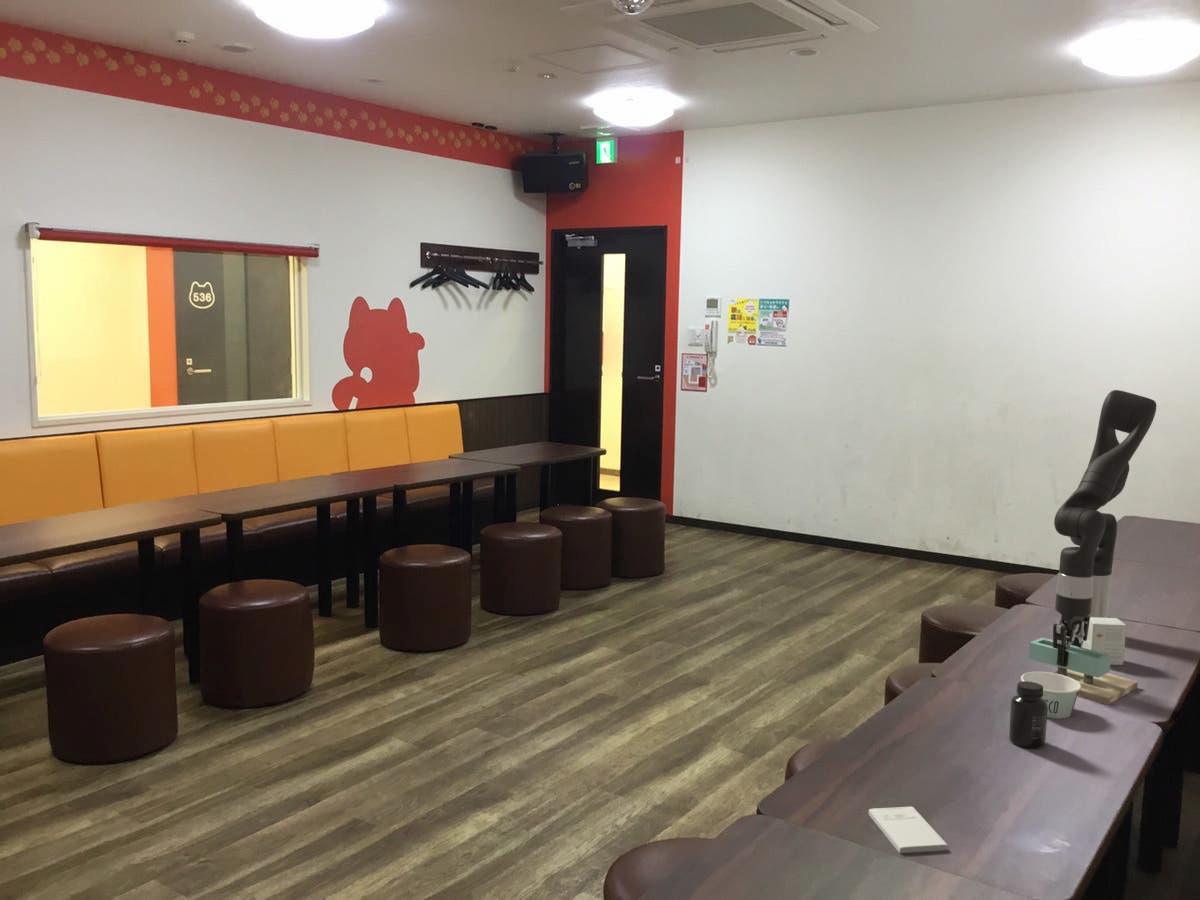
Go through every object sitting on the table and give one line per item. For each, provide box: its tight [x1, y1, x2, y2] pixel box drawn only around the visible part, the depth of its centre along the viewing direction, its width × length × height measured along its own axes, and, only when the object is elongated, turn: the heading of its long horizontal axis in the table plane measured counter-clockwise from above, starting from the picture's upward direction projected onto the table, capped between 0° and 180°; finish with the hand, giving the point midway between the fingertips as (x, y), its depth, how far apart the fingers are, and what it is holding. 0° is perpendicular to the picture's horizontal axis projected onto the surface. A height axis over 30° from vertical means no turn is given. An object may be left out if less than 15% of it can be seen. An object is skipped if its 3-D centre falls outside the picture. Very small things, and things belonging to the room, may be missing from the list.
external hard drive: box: [868, 806, 949, 854], centre depth 163 cm, size 2×8×12 cm
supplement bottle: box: [1008, 680, 1048, 750], centre depth 197 cm, size 7×7×12 cm
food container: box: [1020, 671, 1081, 719], centre depth 214 cm, size 12×12×6 cm
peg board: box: [1053, 667, 1139, 706], centre depth 228 cm, size 16×15×4 cm
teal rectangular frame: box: [1028, 637, 1111, 678], centre depth 229 cm, size 16×6×4 cm, turn 41°
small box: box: [1082, 617, 1127, 666], centre depth 245 cm, size 8×6×10 cm
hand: (1068, 662), depth 230 cm, fingers closed on teal rectangular frame, 6 cm apart
